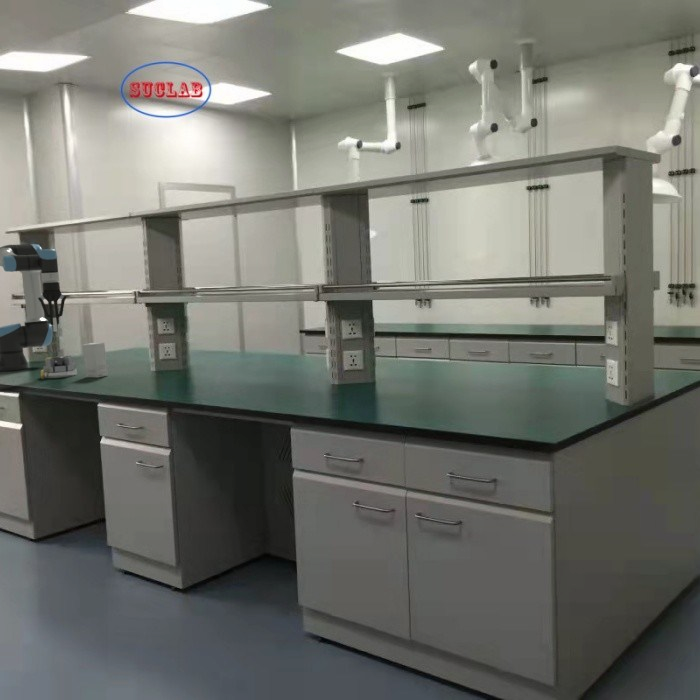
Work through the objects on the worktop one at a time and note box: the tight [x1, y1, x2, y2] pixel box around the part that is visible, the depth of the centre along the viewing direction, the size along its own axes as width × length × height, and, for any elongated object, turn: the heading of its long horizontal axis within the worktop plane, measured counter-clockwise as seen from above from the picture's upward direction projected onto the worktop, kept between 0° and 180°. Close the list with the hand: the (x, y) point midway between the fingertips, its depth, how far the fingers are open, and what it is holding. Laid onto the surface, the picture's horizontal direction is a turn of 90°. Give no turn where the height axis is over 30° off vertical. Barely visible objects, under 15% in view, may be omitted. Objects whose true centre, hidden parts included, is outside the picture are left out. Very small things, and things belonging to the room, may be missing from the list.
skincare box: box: [82, 342, 109, 379], centre depth 352 cm, size 8×7×16 cm
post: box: [40, 369, 46, 380], centre depth 354 cm, size 2×2×4 cm
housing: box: [44, 355, 78, 379], centre depth 361 cm, size 15×15×9 cm
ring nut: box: [43, 355, 77, 372], centre depth 361 cm, size 14×14×6 cm
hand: (55, 331), depth 364 cm, fingers closed
